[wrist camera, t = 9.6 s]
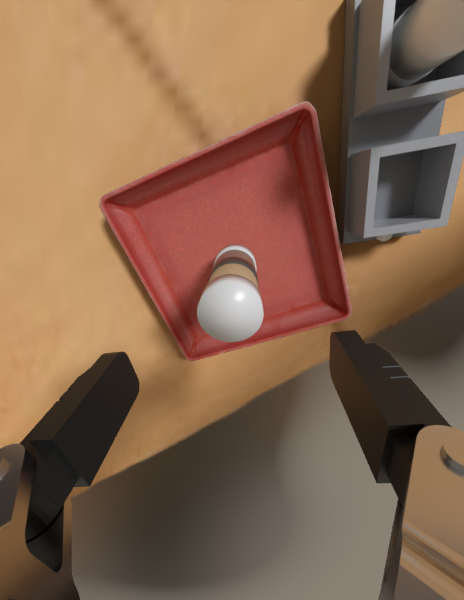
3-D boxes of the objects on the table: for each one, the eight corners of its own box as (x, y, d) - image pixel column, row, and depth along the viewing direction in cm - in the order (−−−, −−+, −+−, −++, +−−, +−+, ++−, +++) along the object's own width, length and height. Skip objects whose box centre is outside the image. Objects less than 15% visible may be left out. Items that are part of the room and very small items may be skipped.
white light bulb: (438, 8, 14) (700, -231, 6) (426, 84, 16) (622, -26, 8) (376, 23, 14) (543, -181, 6) (371, 96, 16) (500, 4, 8)
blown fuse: (252, 240, 19) (259, 279, 11) (257, 280, 21) (266, 338, 13) (211, 247, 20) (189, 289, 12) (219, 285, 21) (205, 345, 13)
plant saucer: (112, 197, 22) (91, 199, 19) (303, 109, 18) (315, 94, 15) (193, 345, 29) (187, 363, 26) (341, 302, 25) (354, 318, 22)
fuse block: (453, -34, 14) (535, -121, 10) (408, 231, 21) (447, 241, 17) (346, -6, 15) (384, -77, 11) (337, 241, 22) (358, 254, 18)
